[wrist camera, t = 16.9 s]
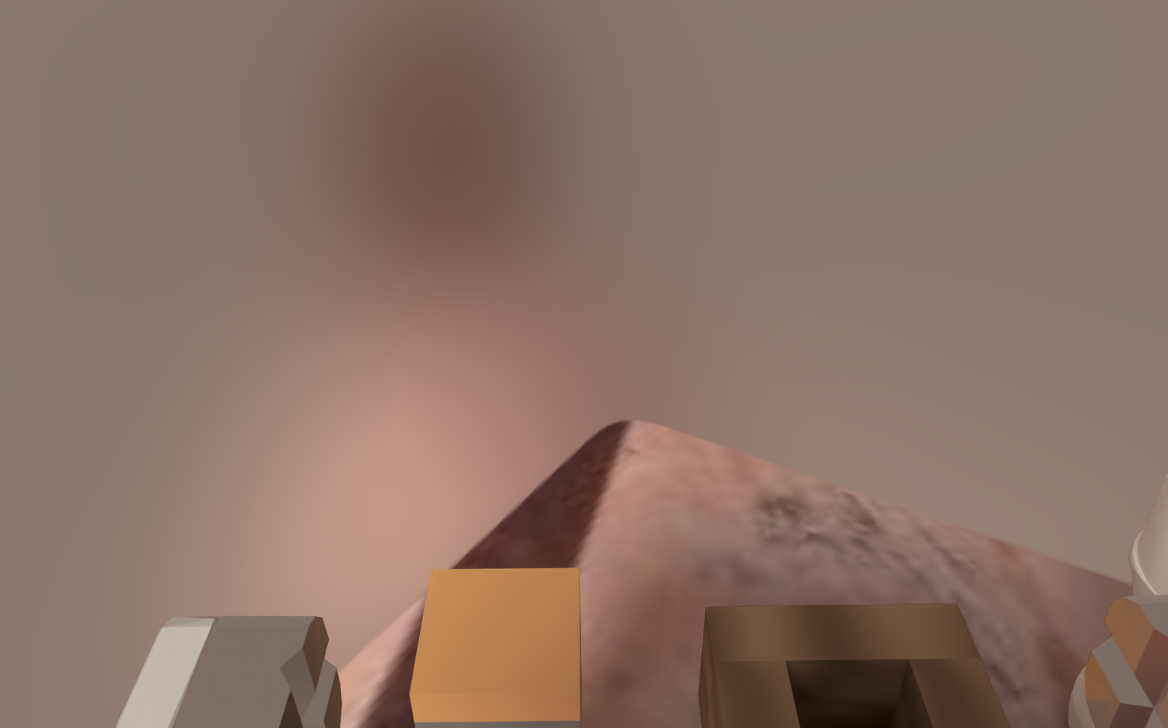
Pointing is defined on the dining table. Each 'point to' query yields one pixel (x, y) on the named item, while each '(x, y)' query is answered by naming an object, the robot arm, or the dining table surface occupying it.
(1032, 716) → the dining table surface
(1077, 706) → the water bottle
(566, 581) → the plug peg
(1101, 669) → the robot arm
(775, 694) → the block
